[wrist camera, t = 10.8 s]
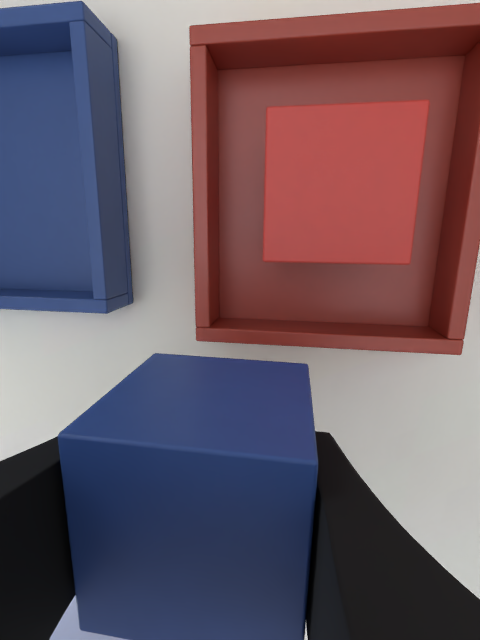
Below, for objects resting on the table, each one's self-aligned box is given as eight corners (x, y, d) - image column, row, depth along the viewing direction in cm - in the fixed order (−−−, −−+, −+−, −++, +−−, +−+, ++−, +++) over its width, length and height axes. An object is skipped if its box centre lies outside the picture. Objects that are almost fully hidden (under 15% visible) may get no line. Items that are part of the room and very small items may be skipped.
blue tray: (133, 303, 17) (107, 313, 15) (-48, 296, 19) (-99, 305, 16) (117, 38, 15) (82, -1, 12) (-93, 54, 16) (-160, 22, 14)
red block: (377, 256, 15) (411, 265, 10) (271, 255, 15) (262, 262, 11) (388, 141, 14) (431, 98, 9) (274, 144, 14) (266, 105, 10)
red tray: (436, 337, 16) (462, 355, 13) (209, 326, 17) (195, 341, 15) (478, 42, 13) (520, -2, 11) (206, 59, 14) (188, 24, 12)
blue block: (299, 500, 11) (301, 675, 6) (159, 483, 11) (77, 632, 7) (308, 362, 10) (319, 463, 5) (154, 352, 10) (55, 433, 6)
